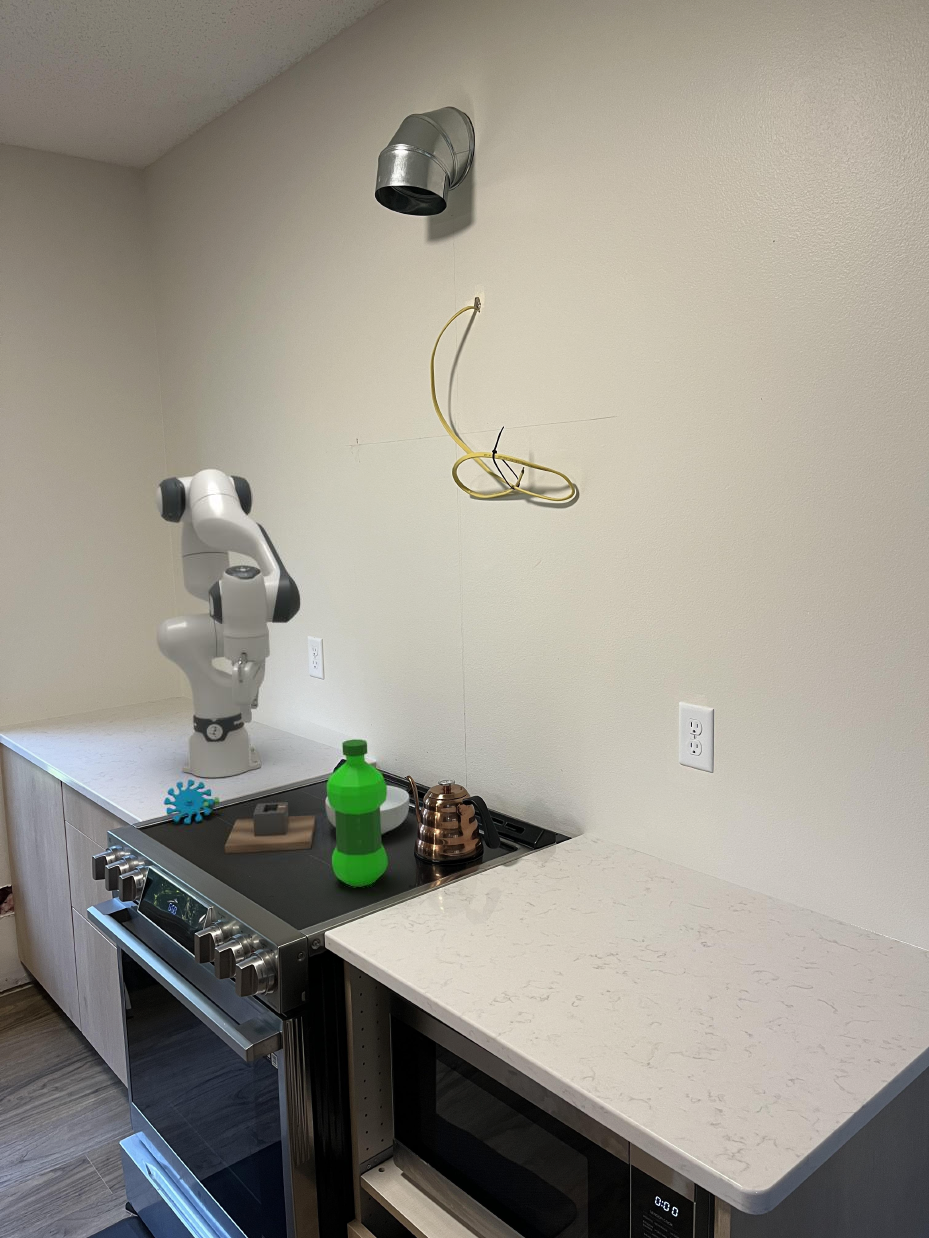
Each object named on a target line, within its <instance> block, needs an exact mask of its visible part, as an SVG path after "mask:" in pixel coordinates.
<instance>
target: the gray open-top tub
mask: <svg viewBox="0 0 929 1238" xmlns="http://www.w3.org/2000/svg"><path fill="white" fill-rule="evenodd" d="M288 805H289V803H288V802H287V801H286V802H285V801H283V802H267V803H266V802H265V803H257V804H256V806H255V808H254V811H253V814H252V817H253V818H252V819H253V822H254V836H273V835H286V832H287V828H288V825H289V817H290V816H289V806H288ZM271 810H276V812H268V811H271Z"/></svg>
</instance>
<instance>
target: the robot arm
mask: <svg viewBox="0 0 929 1238" xmlns="http://www.w3.org/2000/svg"><path fill="white" fill-rule="evenodd" d="M253 502H254V495H253V491H252V489H251V486H250V483H249V482H248V480H247V479H246V478H245V477H241V476H237V475H230V476H228V475H227V474H226V473H225V472H223V471H222V470H218V469H214V468H208V469H204V470H201V471H199V472H197V473H196V474H195V475H193V476H183V477H177V476H175V477H170V478H166V479H163V480H162V481H161V482H160V483H159V484H158V487H157V491H156V495H155V504H156V507H157V510H158V512H159V514H160V517H161V518H162V519H163V520H165V522H169V523H173V524H174V523H176V524H179V523H180V522H181V523H182V526H181V536H180V537H181V538H180V546H181V548H180V550H181V562H182V564H181V565H182V573H183V574H182V575H183V583H184V584H183V585H184V588H185V590H186V591H187V593H189V595H192V596H193V597H194V598H196V599H199V600H202V601H204V602H207V603H208V604H209V612H205V613H195V614H194V613H193V614H192V613H191V614H183V615H179V616H174V617H171V618H169V619H168V618H167V619H164V620H163V621H162V623H161V624H160V625H159V628H158V630H157V634H156V644H157V647H158V649H159V651H160V653H161V654H162V655H163V656H164V657H165V658H166V659H168V660H169V661H171V662H173V663H175V664H176V666H178V667H179V668H180V670H182V671H183V673H184V674H185V676H186V677H187V679H188V682H189V684H190V688H191V692H192V700H193V709H194V714H193V717H192V719H193V720H192V726H193V730H194V733H192V735H191V736H189V738H188V741H187V743H188V745H187V746H188V763H187V764H185V765H184V766H182V772H184V773H189V774H192V775H194V776H197V777H202V778H223V777H230V776H231V777H232V776H236V775H240V774H243V773H246V772H247V771H248V772H249V771H251V770H256V769H259V768H261V761H260V756H259V751H258V748H255V747H253V746H251V736H250V735H249V732H248V730H247V729H246V727H245V726H244V725H245V724H249V723H251V722H252V719H253V714H252V713H253V712H252V710H257V709H258V707H259V692H260V688H261V686H262V684H263V681H264V680H265V673H266V658H268V657H269V656H270V654H271V653H270V649H271V648H270V635H269V634H270V632H269V627H268V625H267V623H274V624H276V623H278V624H279V623H281V624H285V623H288V622H289V621H291V620H292V619H293V618H294V617H295V616H296V615H297V614H298V613H299V611H300V609H301V593H300V591H299V587H298V585H297V583H296V581H295V580H294V579H293V577H292V576H291V575H290V573H289V572H288V570H287V569H286V567H285V565H284V563H283V560H282V559H281V557H280V555H279V553H278V552H277V550H276V547H275V546H274V544H273V542H272V540H271V538H270V537H269V535H268V533H267V531H266V529H265V528H264V527H263V525H262V524H260V523H258V522H256V521H254V519H252V518H250V516H248V515H249V514H250V513H251V511H252V507H253V505H254V504H253ZM229 552H233V553H235V554H236V553H237V554H240V555H244V556H247V557H249V558H251V559H252V560H254V561H255V562H256V564H257V565H258V567H255V566H252V565H234V566H231V564H230V555H229ZM217 658H218V659H219V658H224V659H226V660H228V661H230V662H231V666H232V669H231V673H229V672H226V671H225V670H222V669H219V668H216V667H215V666H213V663H212V662H213V660H214V659H217Z"/></svg>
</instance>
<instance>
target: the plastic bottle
mask: <svg viewBox="0 0 929 1238" xmlns="http://www.w3.org/2000/svg"><path fill="white" fill-rule="evenodd" d="M341 744H342V747H341V748H342V755H343V756H345V760H346V761H345V762H344V763H343V764H342V765H341V766H339V767H338V768H337V769H336V770H335V771H334V772H333V773H332V774H331V775H330V776H329V777H328V780H327V781H326V782H327V783H326V794H327V796H328V800H329V804H330V806H331V807H332V808H333V809H334V810H335V820H336V827H335V836H336V845H335V848H334V849H333V853H332V855H331V864H332V868H333V869H332V870H333V873H334V874H335V877H336V878H338V879H339V880H340V881H341V882H343V883H345V884H349V885H351V886H363V885H369V884H372V883H373V882H374V883H376V881H377V880H378V879H379V878H380V877H381V876H382V875H383V874H384V873H385V871H386V870H387V868H388V856H387V853H386V849H385V848H384V845H383V844H382V835H381V819H380V806H381V805H382V804H383V803H384V802H385V801H386V795H387V786H386V785H387V783H386V781H385V779H384V776H383V774H382V772H380V771H379V770H378V769H377V768H376V767H374V766H373V765H372V764H370V763H369V762H367V761H365V758H366V757H365V755H366V754H368V742H367V740H364V739H348V740H345V741H343V742H342V743H341ZM327 796H326V797H327ZM374 883H373V884H374ZM373 884H372V885H373ZM351 886H350V887H351Z"/></svg>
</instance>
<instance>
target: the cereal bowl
mask: <svg viewBox="0 0 929 1238" xmlns="http://www.w3.org/2000/svg"><path fill="white" fill-rule="evenodd" d="M386 786H387V795H386V801H385V802H384V803H383V804H382V805H381V806H380V819H381V836H382V835H384V834H385V833H387V832H389V831H392V830H394V829H396V828H397V827H400V825H401V824H402V823H403V822H404V821H405V819H406V818H407V816H408V813H409V810H410V809H409V808H410V794H409V793H408V791H406V790H404V788H403V789H402V788H400V787H398V786H393V785H388V784H386ZM324 801H325V813H326V816H327V819H328V821H329V822H330V823H331V824H332V825H333V827H335V828H336V820H335V810H334V809H333V808H332V807H331V806H330V804H329V800H328V796H326V798H325V800H324Z"/></svg>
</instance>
